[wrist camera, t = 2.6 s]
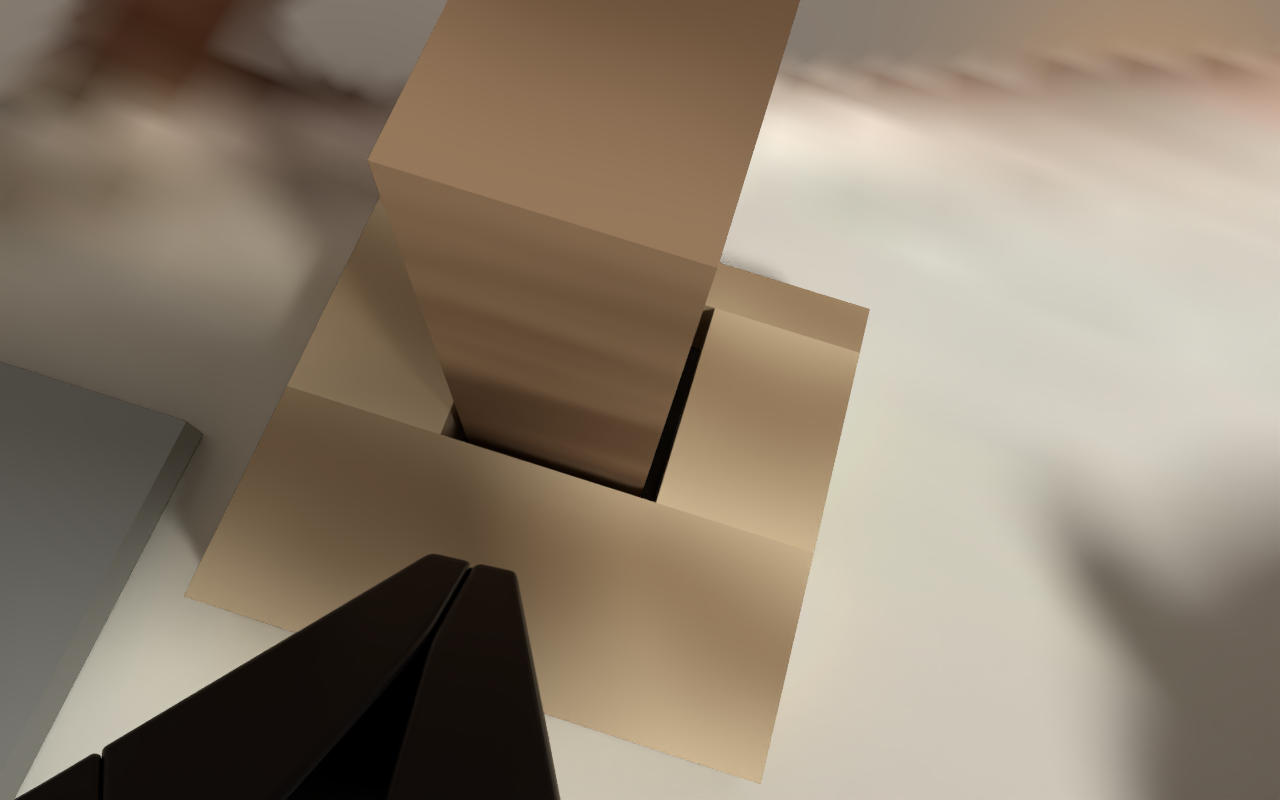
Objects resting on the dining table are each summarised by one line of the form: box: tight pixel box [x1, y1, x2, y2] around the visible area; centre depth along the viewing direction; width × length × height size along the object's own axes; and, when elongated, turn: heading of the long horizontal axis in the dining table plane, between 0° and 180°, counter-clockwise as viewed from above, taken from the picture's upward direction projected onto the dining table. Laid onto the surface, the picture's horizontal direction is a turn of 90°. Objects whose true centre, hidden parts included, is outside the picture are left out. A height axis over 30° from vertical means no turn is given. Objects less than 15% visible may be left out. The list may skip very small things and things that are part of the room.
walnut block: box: [367, 0, 800, 497], centre depth 13 cm, size 4×4×10 cm
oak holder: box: [184, 197, 870, 784], centre depth 17 cm, size 9×10×2 cm
